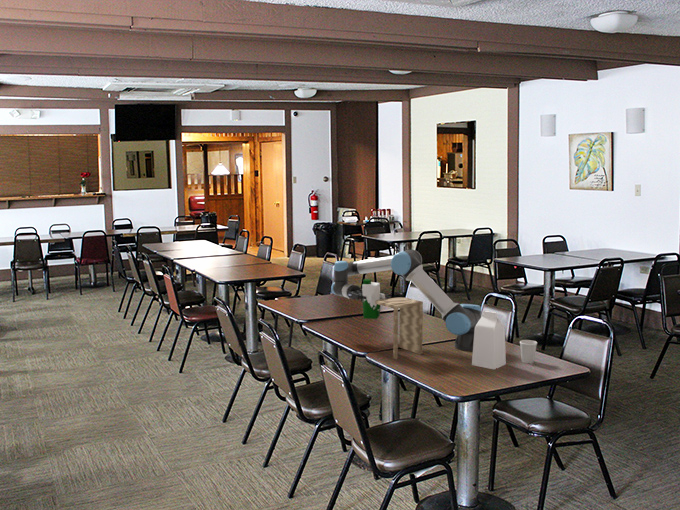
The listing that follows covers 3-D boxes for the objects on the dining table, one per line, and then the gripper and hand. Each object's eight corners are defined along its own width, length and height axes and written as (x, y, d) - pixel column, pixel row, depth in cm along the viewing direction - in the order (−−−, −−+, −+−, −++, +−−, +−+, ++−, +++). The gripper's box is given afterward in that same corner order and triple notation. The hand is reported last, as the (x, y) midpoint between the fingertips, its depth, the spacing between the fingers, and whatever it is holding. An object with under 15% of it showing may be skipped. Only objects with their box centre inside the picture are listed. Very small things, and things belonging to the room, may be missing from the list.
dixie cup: (523, 364, 338) (523, 344, 336) (516, 359, 346) (516, 340, 344) (539, 363, 339) (540, 343, 338) (532, 359, 347) (532, 339, 346)
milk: (471, 364, 337) (473, 312, 334) (483, 359, 346) (485, 308, 343) (494, 369, 330) (495, 315, 326) (505, 364, 338) (507, 311, 335)
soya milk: (365, 315, 372) (364, 278, 370) (381, 315, 370) (381, 278, 368) (361, 318, 364) (360, 281, 361) (378, 319, 362) (378, 281, 359)
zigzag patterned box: (375, 352, 360) (375, 300, 356) (401, 347, 370) (402, 296, 367) (395, 359, 347) (395, 305, 344) (422, 353, 357) (422, 301, 354)
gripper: (366, 296, 387) (393, 302, 369) (336, 300, 375) (362, 307, 357) (366, 282, 386) (393, 288, 368) (336, 286, 374) (362, 292, 356)
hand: (378, 297), depth 362 cm, fingers closed on soya milk, 8 cm apart
